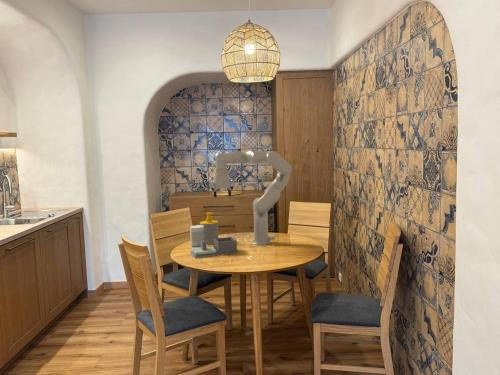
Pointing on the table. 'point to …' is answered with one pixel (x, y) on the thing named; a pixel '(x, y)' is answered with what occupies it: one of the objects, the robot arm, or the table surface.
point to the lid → (203, 249)
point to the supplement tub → (197, 235)
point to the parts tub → (225, 245)
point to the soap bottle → (210, 229)
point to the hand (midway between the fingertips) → (222, 196)
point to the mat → (203, 255)
